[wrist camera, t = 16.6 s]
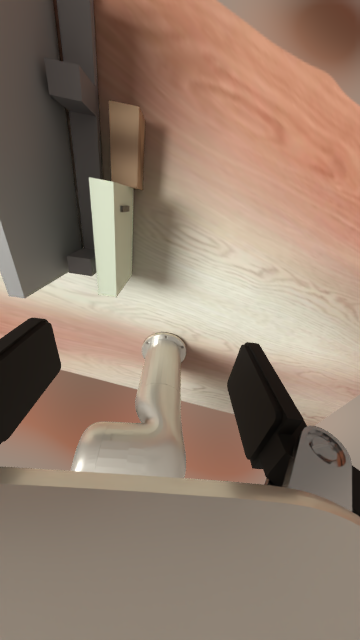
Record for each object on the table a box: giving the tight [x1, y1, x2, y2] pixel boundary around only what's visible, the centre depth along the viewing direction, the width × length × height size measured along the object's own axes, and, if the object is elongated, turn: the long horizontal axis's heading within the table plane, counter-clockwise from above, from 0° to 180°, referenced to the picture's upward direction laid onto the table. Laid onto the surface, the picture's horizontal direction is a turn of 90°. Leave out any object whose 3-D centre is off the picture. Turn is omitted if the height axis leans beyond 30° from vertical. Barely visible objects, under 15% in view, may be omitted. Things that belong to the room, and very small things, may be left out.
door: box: [89, 177, 134, 297], centre depth 32 cm, size 16×3×12 cm, turn 171°
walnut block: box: [109, 100, 145, 190], centre depth 29 cm, size 9×4×5 cm, turn 171°
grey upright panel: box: [0, 0, 103, 298], centre depth 24 cm, size 34×7×18 cm, turn 171°
